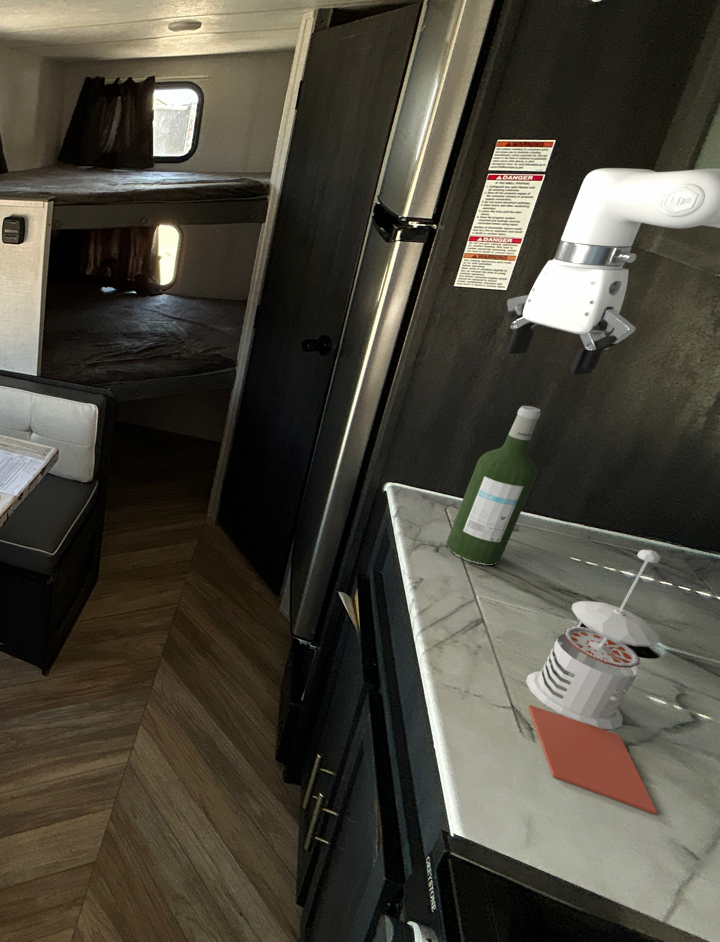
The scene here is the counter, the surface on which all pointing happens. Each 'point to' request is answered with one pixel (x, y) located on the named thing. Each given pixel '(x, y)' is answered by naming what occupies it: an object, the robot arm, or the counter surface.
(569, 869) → the counter surface
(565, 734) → the napkin
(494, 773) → the counter surface
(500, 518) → the wine bottle
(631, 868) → the counter surface
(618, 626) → the french press
